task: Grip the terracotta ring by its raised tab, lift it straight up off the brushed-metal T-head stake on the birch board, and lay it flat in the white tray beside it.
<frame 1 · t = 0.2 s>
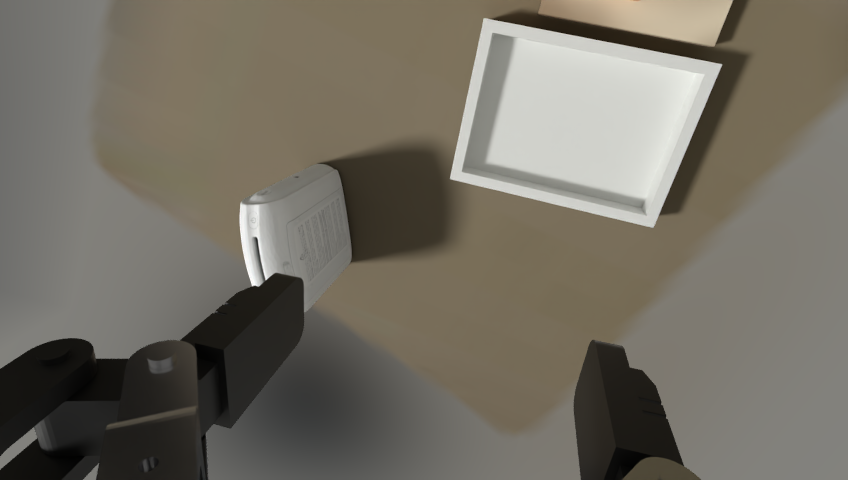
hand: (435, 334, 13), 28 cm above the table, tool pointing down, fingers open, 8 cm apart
white tray: (569, 122, 37), on the table
photo printer: (329, 214, 44), on the table
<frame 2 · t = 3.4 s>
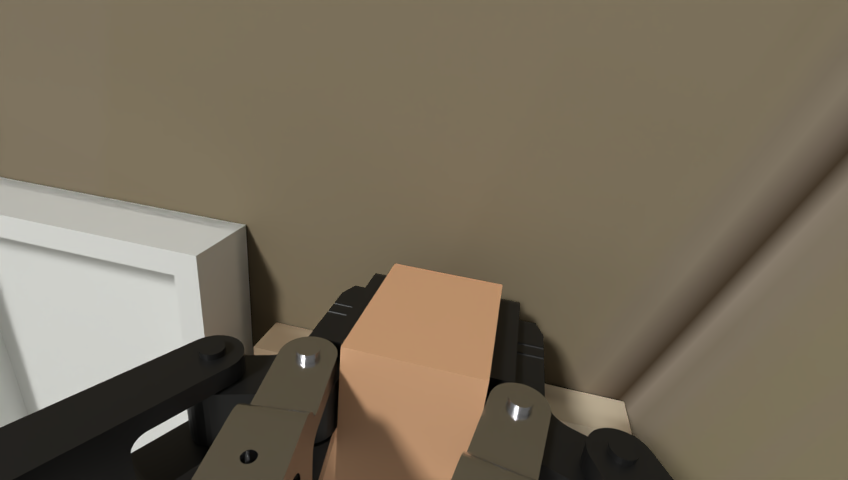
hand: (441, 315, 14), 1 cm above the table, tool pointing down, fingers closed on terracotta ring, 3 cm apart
white tray: (126, 376, 20), on the table
stake board: (425, 455, 18), on the table
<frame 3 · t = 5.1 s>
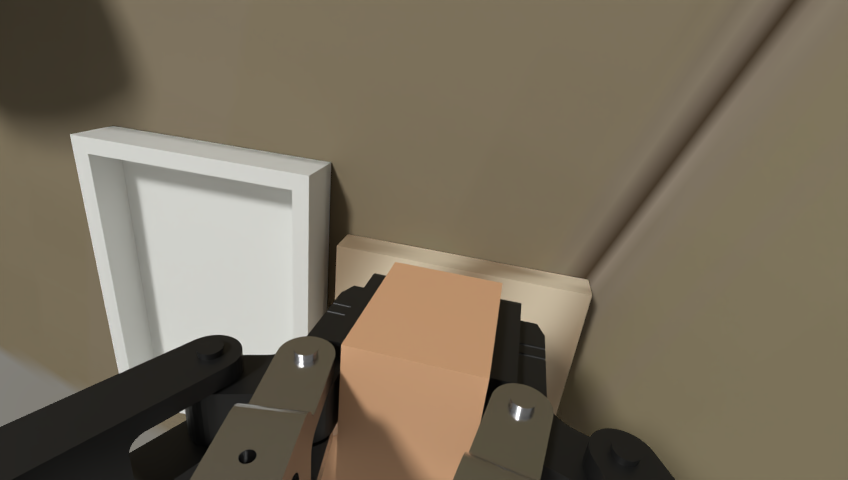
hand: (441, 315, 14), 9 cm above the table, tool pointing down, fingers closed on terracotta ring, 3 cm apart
white tray: (228, 283, 27), on the table
stake board: (451, 331, 25), on the table
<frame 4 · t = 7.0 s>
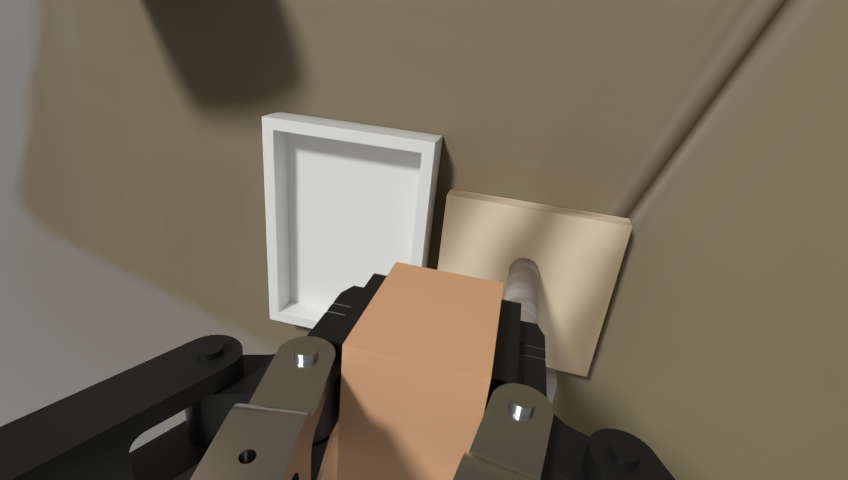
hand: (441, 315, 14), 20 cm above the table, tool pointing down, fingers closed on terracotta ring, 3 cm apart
white tray: (354, 229, 36), on the table
stake board: (524, 261, 33), on the table
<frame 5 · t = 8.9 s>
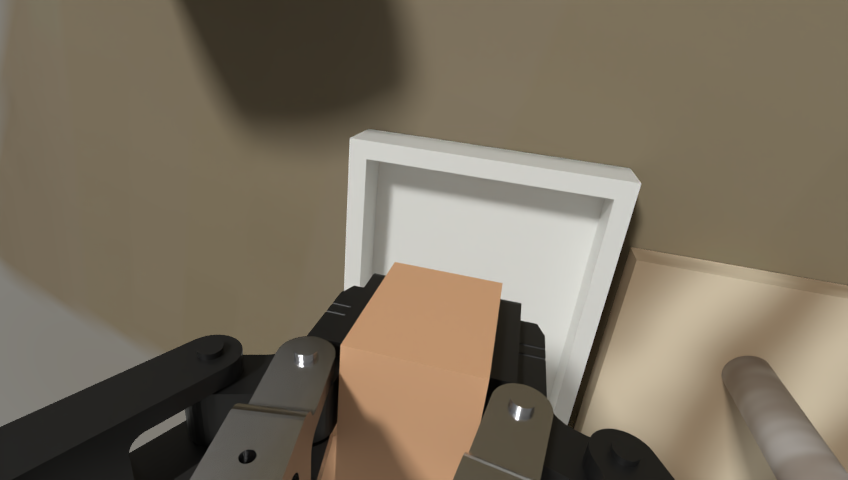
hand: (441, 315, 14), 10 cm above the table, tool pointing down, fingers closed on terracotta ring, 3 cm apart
white tray: (468, 299, 25), on the table
stake board: (734, 354, 22), on the table
when the fingers open (2 cm above the table, at t = 10.4 s): terracotta ring drops 2 cm, resting on white tray.
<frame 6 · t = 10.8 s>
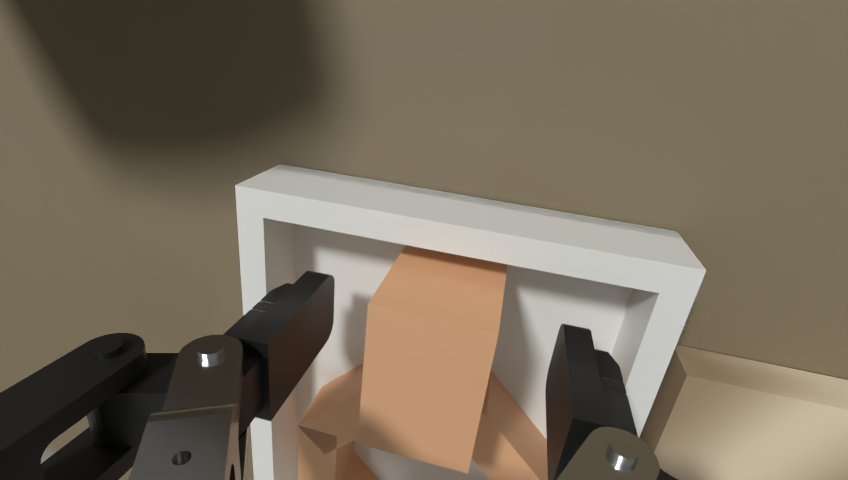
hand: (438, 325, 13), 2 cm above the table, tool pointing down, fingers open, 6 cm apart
white tray: (434, 401, 17), on the table
terracotta ring: (426, 448, 17), point 1 cm above the table, touching white tray
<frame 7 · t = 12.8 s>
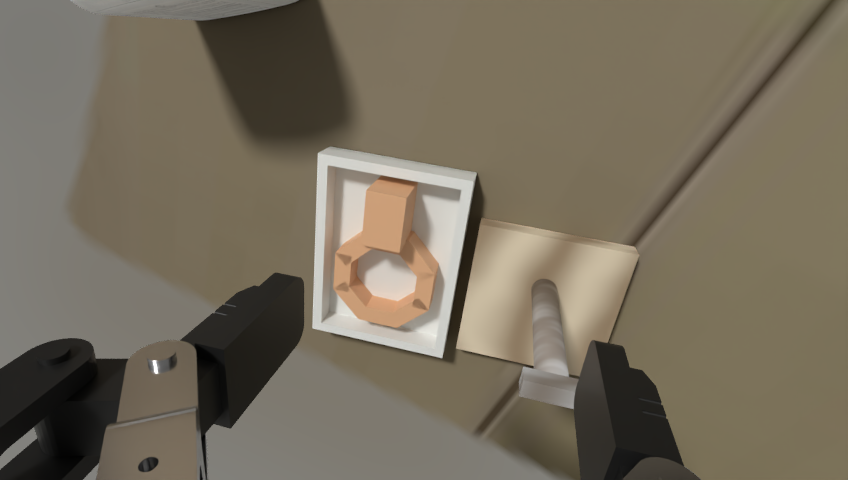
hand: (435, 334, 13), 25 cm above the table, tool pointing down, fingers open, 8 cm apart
white tray: (392, 250, 40), on the table
terracotta ring: (388, 271, 40), point 1 cm above the table, touching white tray
stake board: (543, 281, 38), on the table
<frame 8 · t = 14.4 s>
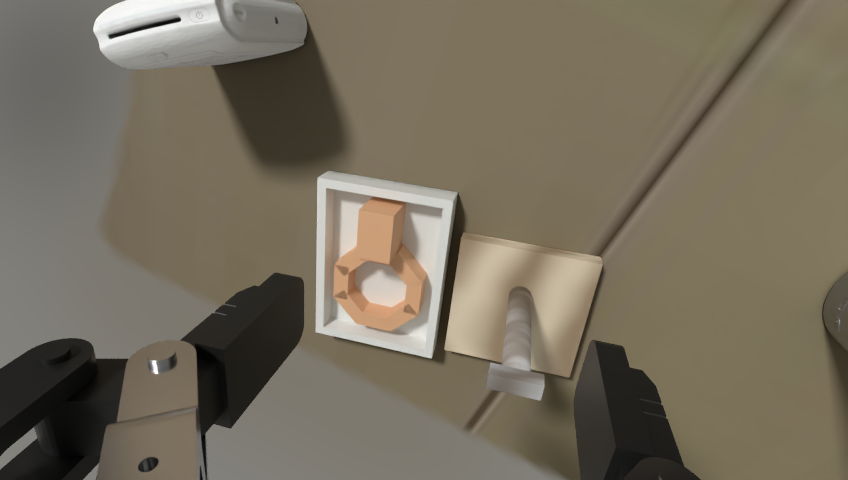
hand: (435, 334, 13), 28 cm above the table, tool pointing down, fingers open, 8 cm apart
white tray: (385, 261, 45), on the table
terracotta ring: (382, 280, 45), point 1 cm above the table, touching white tray
stake board: (520, 288, 43), on the table
photo printer: (255, 32, 39), on the table
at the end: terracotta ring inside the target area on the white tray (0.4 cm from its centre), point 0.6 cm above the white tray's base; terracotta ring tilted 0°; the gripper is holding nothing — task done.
